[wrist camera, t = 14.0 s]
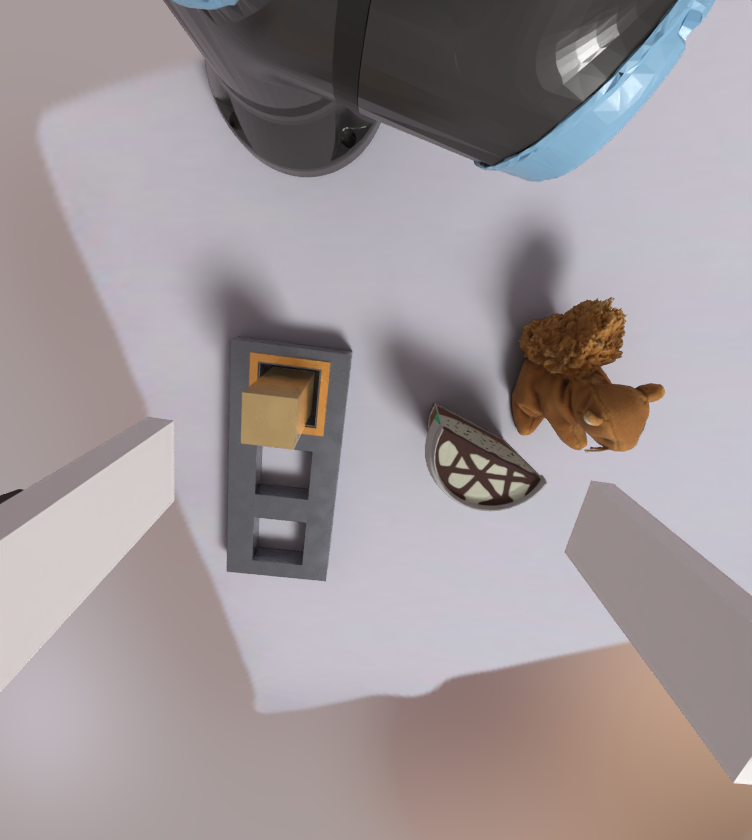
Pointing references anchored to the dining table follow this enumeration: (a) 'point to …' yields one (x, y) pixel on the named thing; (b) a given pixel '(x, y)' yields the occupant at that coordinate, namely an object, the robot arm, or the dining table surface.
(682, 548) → the robot arm
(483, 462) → the food container
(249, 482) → the grey slotted tray
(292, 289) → the dining table surface
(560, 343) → the stuffed squirrel
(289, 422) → the brass post
